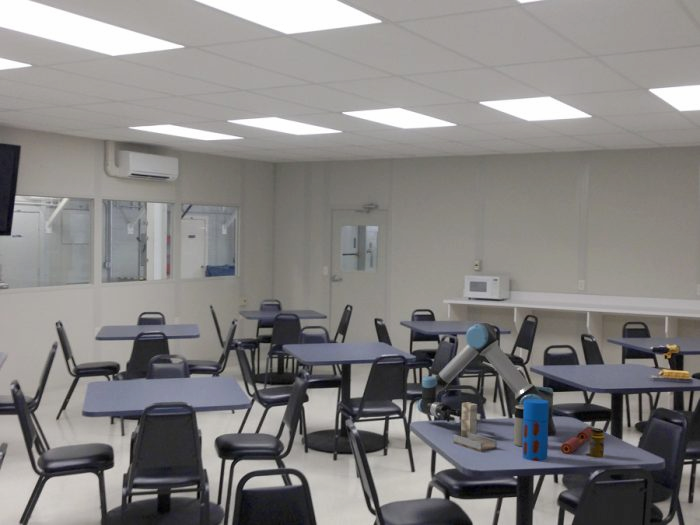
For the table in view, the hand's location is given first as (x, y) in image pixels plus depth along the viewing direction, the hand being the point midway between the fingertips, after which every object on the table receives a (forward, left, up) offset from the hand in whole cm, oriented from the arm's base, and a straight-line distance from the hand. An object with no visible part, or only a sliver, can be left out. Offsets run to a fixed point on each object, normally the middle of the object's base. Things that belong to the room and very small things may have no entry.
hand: (470, 418), depth 376 cm
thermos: (-36, +22, -9) cm, 44 cm away
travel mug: (-26, +2, -9) cm, 28 cm away
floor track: (-7, +16, -9) cm, 20 cm away
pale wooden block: (+1, -1, -9) cm, 9 cm away
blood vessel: (-50, -13, -9) cm, 52 cm away
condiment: (-59, +5, -9) cm, 60 cm away
